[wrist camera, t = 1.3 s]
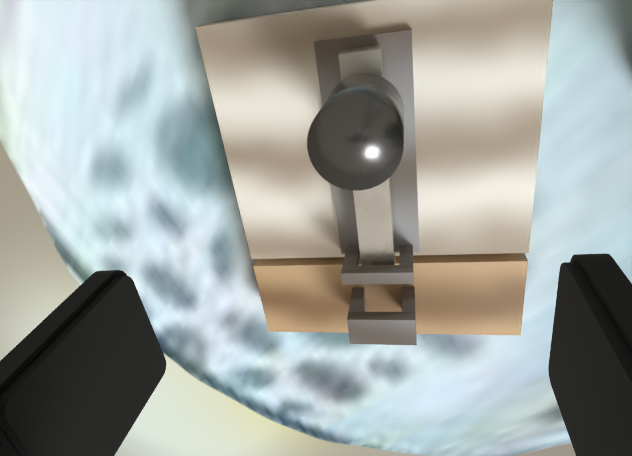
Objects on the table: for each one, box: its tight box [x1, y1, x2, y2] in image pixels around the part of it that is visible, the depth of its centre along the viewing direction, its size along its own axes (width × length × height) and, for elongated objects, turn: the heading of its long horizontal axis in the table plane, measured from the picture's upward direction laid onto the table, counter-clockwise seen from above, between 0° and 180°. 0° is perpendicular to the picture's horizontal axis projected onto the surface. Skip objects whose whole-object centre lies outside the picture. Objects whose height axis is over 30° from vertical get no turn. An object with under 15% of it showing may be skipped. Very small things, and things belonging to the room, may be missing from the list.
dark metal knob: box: [307, 45, 404, 266], centre depth 23 cm, size 13×4×7 cm, turn 8°
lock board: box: [195, 0, 553, 345], centre depth 27 cm, size 22×18×6 cm
